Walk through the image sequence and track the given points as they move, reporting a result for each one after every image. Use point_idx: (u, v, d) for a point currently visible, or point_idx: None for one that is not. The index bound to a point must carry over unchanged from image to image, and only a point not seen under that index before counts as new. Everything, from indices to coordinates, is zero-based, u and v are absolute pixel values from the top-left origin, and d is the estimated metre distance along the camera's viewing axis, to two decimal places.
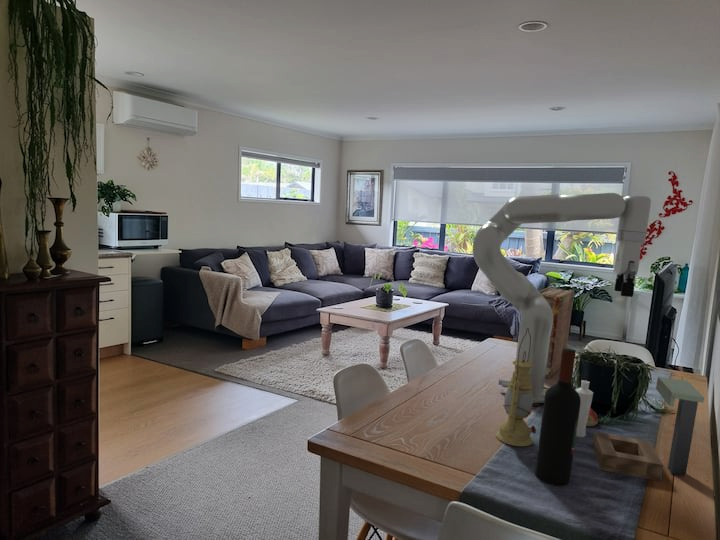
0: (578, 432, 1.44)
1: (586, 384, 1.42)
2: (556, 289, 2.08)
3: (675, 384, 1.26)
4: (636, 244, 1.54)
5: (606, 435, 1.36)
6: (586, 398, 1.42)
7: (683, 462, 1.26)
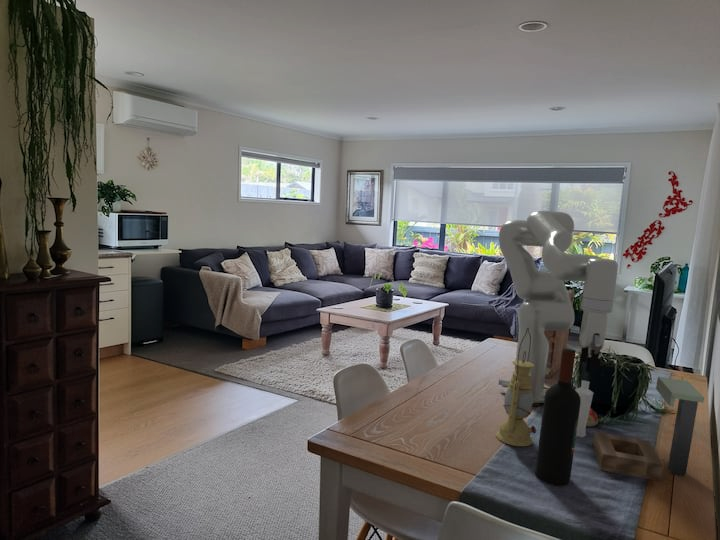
0: (578, 432, 1.44)
1: (586, 384, 1.42)
2: None
3: (675, 384, 1.26)
4: (601, 314, 1.36)
5: (606, 435, 1.36)
6: (586, 398, 1.42)
7: (683, 462, 1.26)
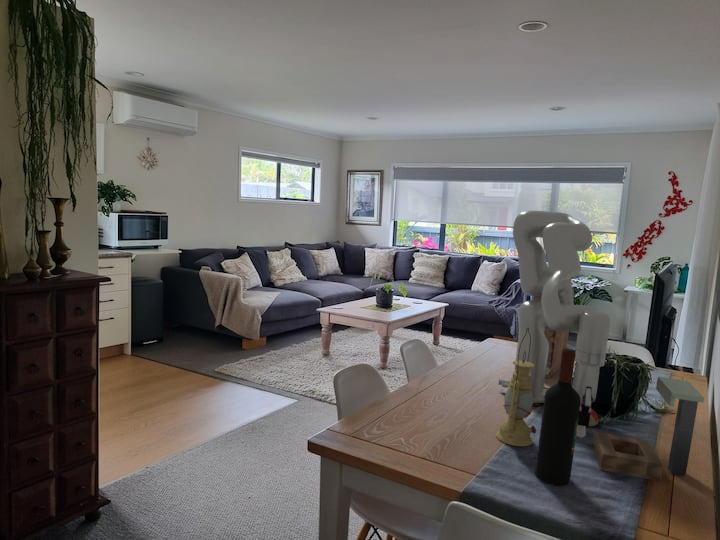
0: (578, 432, 1.44)
1: None
2: None
3: (675, 384, 1.26)
4: (594, 368, 1.38)
5: (606, 435, 1.36)
6: None
7: (683, 462, 1.26)
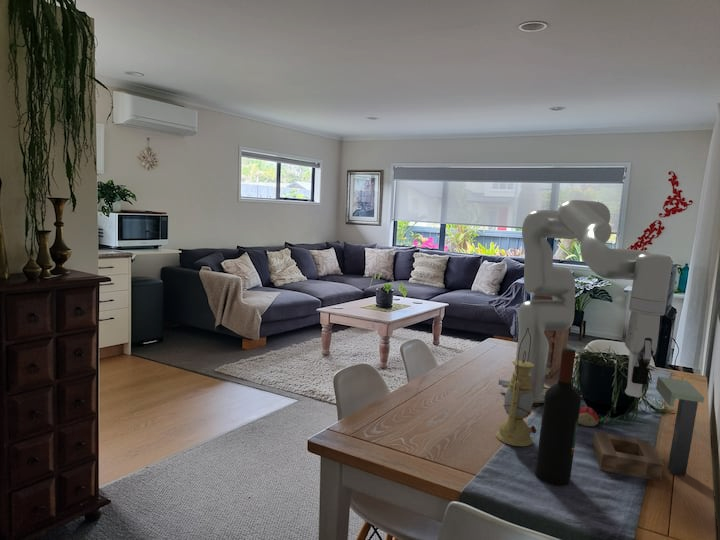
0: (634, 392, 1.27)
1: None
2: None
3: (675, 384, 1.26)
4: (654, 317, 1.21)
5: (606, 435, 1.36)
6: None
7: (683, 462, 1.26)
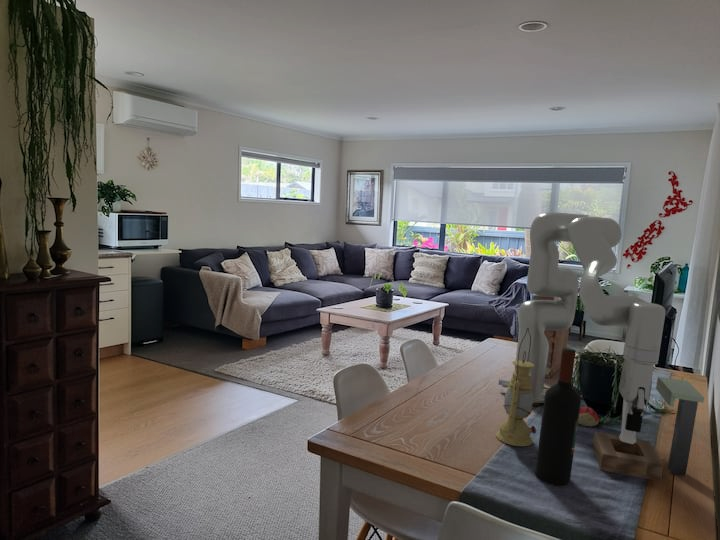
0: (628, 438, 1.28)
1: None
2: None
3: (675, 384, 1.26)
4: (647, 366, 1.23)
5: (606, 435, 1.36)
6: None
7: (683, 462, 1.26)
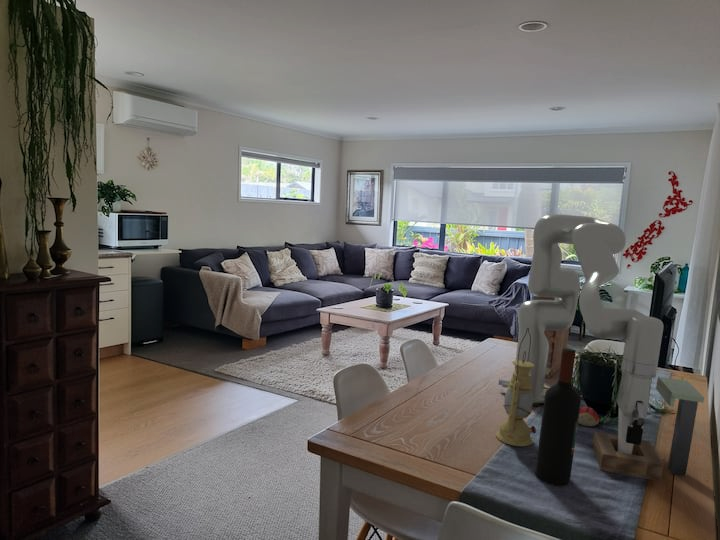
0: None
1: None
2: None
3: (675, 384, 1.26)
4: (645, 380, 1.23)
5: (606, 435, 1.36)
6: None
7: (683, 462, 1.26)
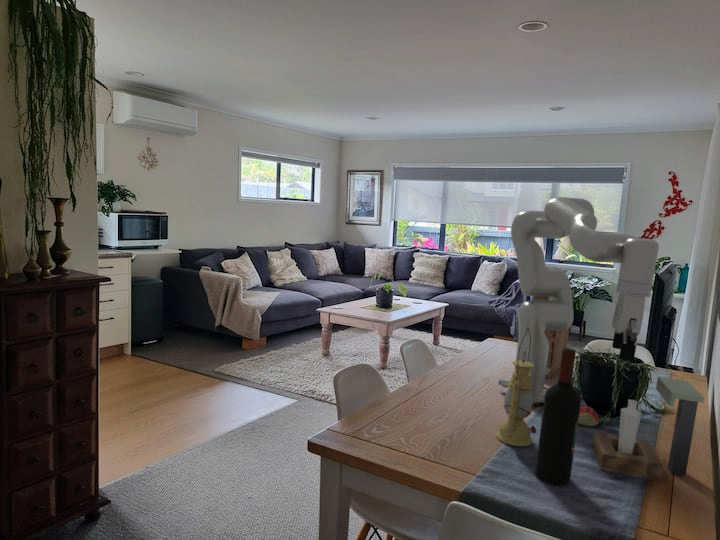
0: None
1: (634, 404, 1.28)
2: None
3: (675, 384, 1.26)
4: (639, 298, 1.27)
5: (606, 435, 1.36)
6: (634, 420, 1.27)
7: (683, 462, 1.26)
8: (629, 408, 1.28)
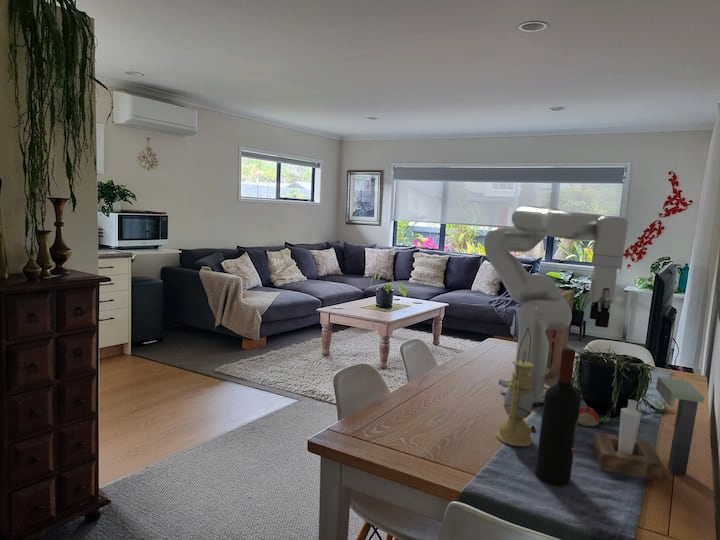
0: None
1: (634, 404, 1.28)
2: None
3: (675, 384, 1.26)
4: (611, 270, 1.40)
5: (606, 435, 1.36)
6: (634, 420, 1.27)
7: (683, 462, 1.26)
8: (629, 408, 1.28)
